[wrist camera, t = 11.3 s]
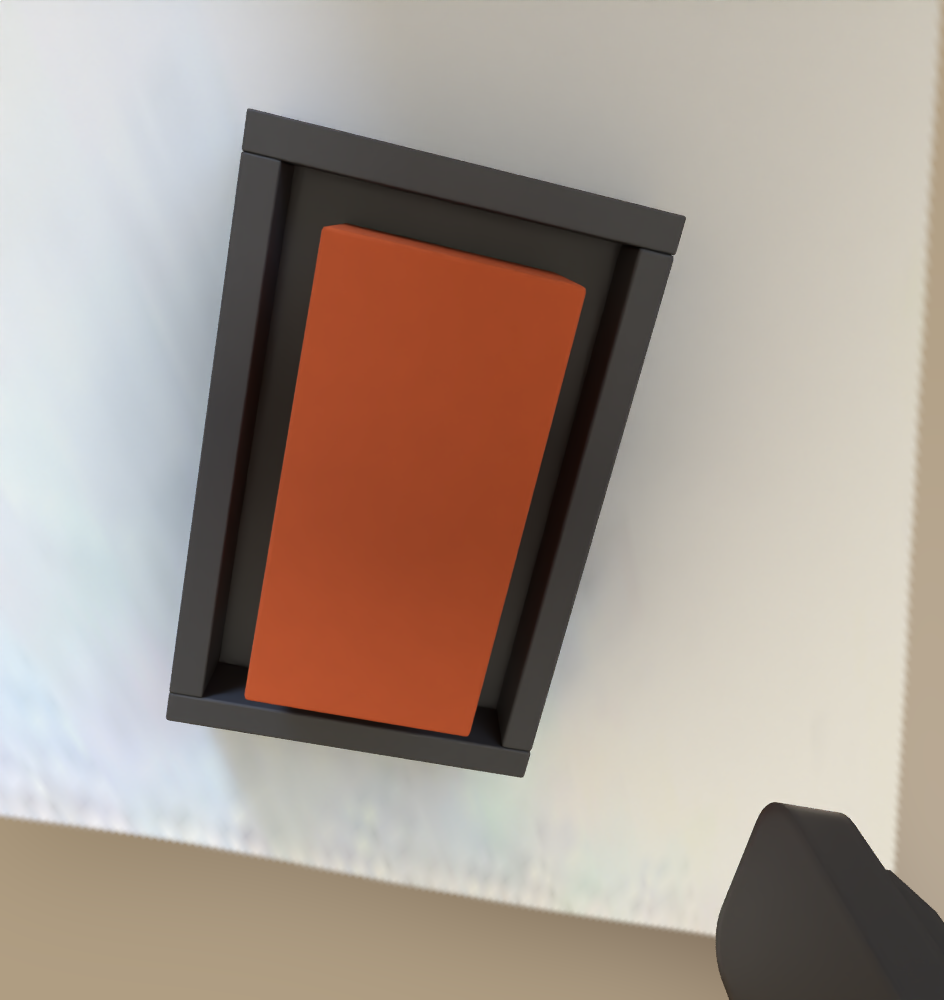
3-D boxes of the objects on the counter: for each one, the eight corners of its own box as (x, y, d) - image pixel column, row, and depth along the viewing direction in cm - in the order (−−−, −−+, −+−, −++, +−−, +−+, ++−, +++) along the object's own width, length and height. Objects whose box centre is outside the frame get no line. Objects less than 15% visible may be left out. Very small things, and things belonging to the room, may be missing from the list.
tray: (268, 120, 19) (246, 107, 17) (657, 215, 20) (687, 216, 18) (190, 671, 23) (165, 720, 21) (514, 726, 24) (524, 779, 22)
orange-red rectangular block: (343, 221, 19) (321, 224, 15) (557, 273, 20) (588, 287, 16) (274, 617, 22) (243, 701, 18) (462, 651, 23) (469, 739, 19)
